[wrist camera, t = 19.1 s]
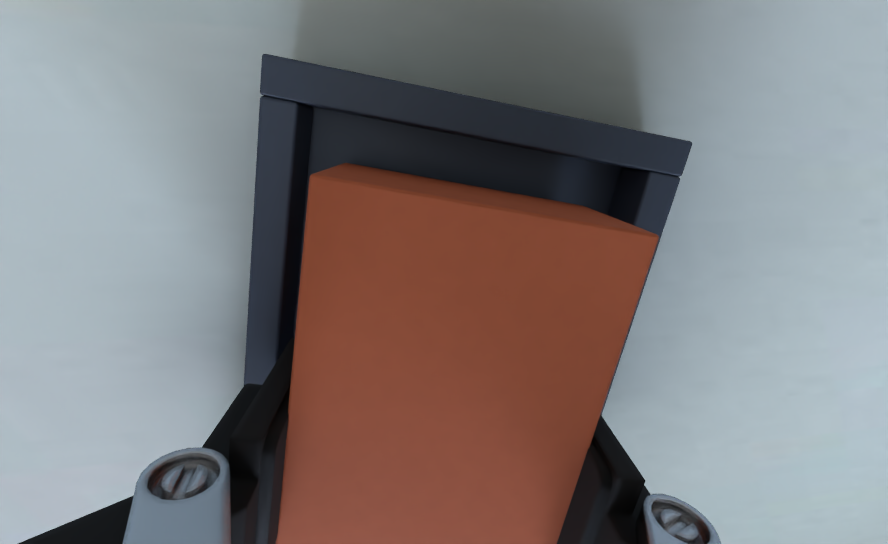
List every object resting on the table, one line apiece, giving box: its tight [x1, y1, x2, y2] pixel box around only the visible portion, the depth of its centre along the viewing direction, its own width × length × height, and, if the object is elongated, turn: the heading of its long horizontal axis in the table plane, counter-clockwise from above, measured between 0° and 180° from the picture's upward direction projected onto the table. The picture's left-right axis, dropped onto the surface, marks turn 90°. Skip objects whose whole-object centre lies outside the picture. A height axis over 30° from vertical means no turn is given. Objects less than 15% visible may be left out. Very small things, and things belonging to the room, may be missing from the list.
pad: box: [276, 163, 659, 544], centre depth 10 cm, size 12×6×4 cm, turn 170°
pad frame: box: [244, 54, 692, 544], centre depth 12 cm, size 16×10×2 cm, turn 170°
